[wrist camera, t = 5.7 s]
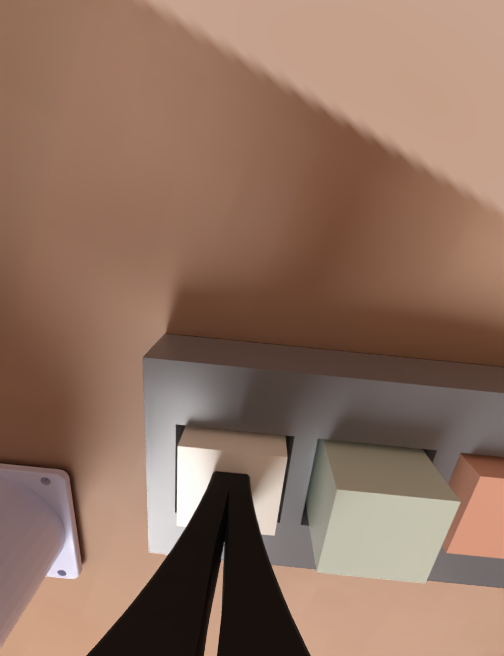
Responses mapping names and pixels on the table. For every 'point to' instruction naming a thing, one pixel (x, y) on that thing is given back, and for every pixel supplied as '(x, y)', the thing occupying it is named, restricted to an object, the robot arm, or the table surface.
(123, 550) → the table surface
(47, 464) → the table surface
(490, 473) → the terracotta key
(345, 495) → the sage key
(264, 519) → the cream key
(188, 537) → the robot arm
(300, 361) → the keypad
